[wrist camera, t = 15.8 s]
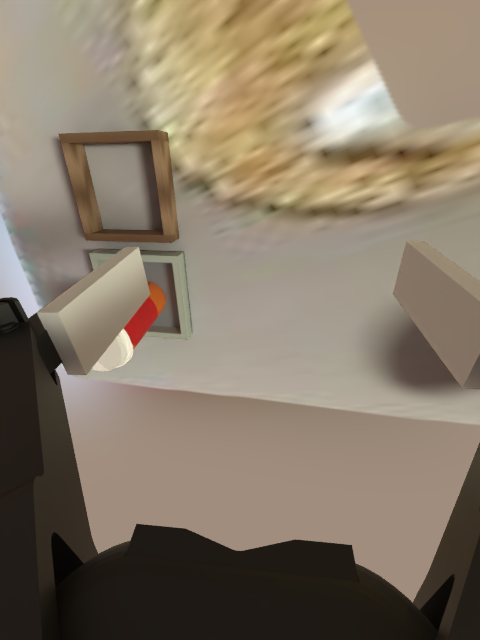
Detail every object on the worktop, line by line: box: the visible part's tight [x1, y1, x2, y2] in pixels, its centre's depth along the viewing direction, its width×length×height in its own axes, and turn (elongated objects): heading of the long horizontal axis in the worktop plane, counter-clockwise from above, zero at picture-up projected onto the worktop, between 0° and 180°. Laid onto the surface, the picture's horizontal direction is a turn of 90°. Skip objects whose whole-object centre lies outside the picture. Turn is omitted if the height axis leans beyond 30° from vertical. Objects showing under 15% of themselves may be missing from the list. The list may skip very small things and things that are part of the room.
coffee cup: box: [92, 281, 166, 371], centre depth 41 cm, size 8×8×15 cm
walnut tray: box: [59, 130, 179, 243], centre depth 39 cm, size 13×13×3 cm
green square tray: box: [89, 249, 192, 340], centre depth 46 cm, size 14×14×2 cm
